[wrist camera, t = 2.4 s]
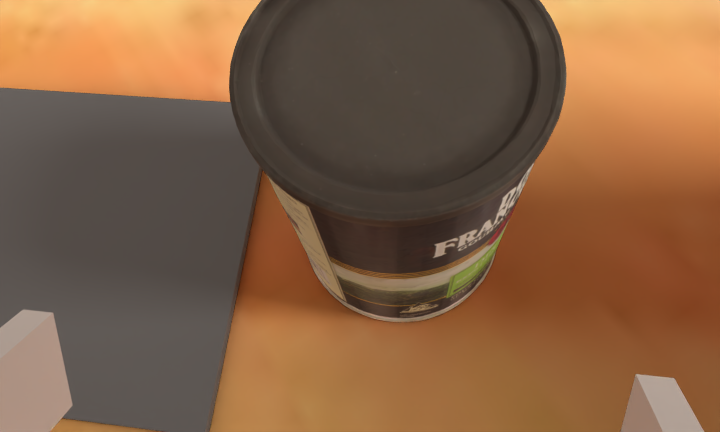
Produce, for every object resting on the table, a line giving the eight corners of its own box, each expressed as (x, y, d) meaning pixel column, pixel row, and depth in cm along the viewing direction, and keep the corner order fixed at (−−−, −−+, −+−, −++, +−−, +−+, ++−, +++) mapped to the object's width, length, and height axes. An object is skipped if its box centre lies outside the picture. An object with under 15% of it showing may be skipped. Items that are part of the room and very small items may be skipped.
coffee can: (536, 203, 31) (630, 20, 18) (426, 365, 28) (441, 292, 15) (377, 110, 33) (358, -107, 20) (264, 248, 31) (159, 102, 18)
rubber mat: (274, 110, 34) (272, 105, 33) (208, 437, 27) (203, 436, 27) (-37, 90, 36) (-44, 85, 36) (-165, 387, 30) (-177, 386, 29)
